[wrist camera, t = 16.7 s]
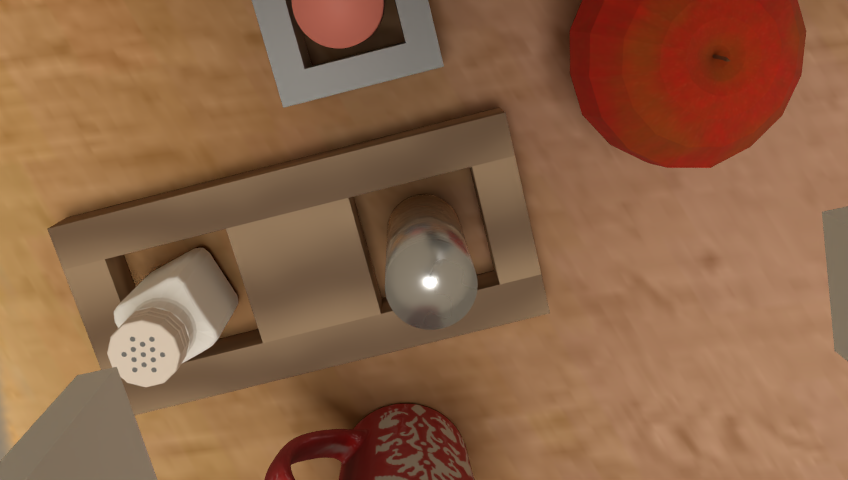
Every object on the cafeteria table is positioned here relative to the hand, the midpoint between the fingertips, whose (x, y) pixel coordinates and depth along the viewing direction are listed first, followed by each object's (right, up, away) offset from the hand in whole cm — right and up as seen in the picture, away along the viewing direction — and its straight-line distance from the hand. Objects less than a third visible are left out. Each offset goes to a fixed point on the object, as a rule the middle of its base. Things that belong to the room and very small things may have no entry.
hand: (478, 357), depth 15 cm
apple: (+10, +12, +28) cm, 32 cm away
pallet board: (-7, +1, +30) cm, 31 cm away
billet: (-1, +3, +30) cm, 30 cm away
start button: (-5, +14, +26) cm, 30 cm away
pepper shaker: (-14, -1, +30) cm, 33 cm away
